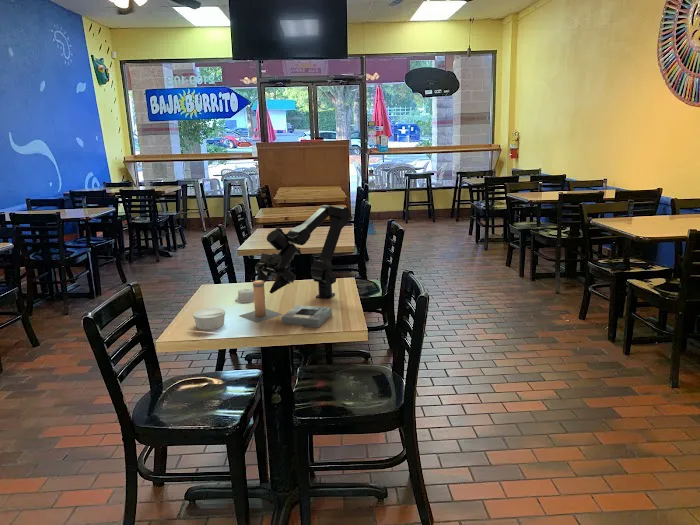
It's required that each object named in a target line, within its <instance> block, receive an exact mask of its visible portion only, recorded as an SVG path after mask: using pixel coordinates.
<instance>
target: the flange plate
mask: <svg viewBox="0 0 700 525" xmlns="http://www.w3.org/2000/svg"><path fill="white" fill-rule="evenodd" d="M331 315H333V309H332V307H328V306H327V307H326V306H315V305H300V304H296V305H295V306H294V307H293V308H291V309H290V310H289V311H288V312H286V313H284V314H283V315H281V324H283V325H294V326H295V325H296V326H301V327H302V326H304V328H305V327H306V328H315V327H316V328H320V327H321V326H323V324H324V323H325V322H327V321H328V319H329V317H330V316H331ZM330 318H331V317H330ZM316 328H315V329H316Z"/></svg>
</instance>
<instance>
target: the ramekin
mask: <svg viewBox="0 0 700 525" xmlns="http://www.w3.org/2000/svg"><path fill="white" fill-rule="evenodd" d="M225 315H226V310H225V309H223V308H220V307H209V308H203V309H199V310H197V311H195V312H194V313H193V315H192V317H193V319H194V323H195V326H196V328H197V329H199V330H205V331H206V330H214V329H218V328H220V327H222V326H224V324H225Z"/></svg>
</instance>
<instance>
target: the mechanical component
mask: <svg viewBox="0 0 700 525" xmlns="http://www.w3.org/2000/svg"><path fill="white" fill-rule="evenodd" d="M237 291H238V292H237V296H236V297H235V302H236V303H237V302H238V303H243V304H245V303H246V304H247V303H254V290H253V288H242V289H240V290H237Z"/></svg>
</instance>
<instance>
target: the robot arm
mask: <svg viewBox="0 0 700 525" xmlns="http://www.w3.org/2000/svg"><path fill="white" fill-rule="evenodd" d="M351 215H352V213H351V210H350V209H349V207H347V206H337V205H336V206H332V205H329V204H323V205H320V206H319V208H318V209H317V210H316V211H314V213H313V214H312V215H310V217H308V219H307V220H305V221H304V222H303V223H301V224H300V225H297V226H295V227H293V228H291V229H290V230H289V231H288V232H286V233H285V232H284V231H283V229H281V227H276V228H275V229H273V230H272V231H270V232H269V233H267V236H266V241H267V242H268V243H269V244H270V245H271V246H272V247H273V248H274V249H275V250H276V251H278V253H277V254H276V253H272V254H268V253H261V256H260V260H259V262H257V263H256V264H255V266H254V268H255V271H257V276H256V281H258V280H262V281H264V284H265V283H266V282H267V281H268V280H269V279H270V276H272V275H275V281H274V282H273V284H272V286H271V288H270V289H269V293H270V294H273V293H275V292H276V291H278V290H280V289H282V288H283V287H285V286H287V285H290V284H291V283H292V284H293V283H294V281H295V280H296V275H295V274H294V273H293V272H292V271H291V270H290V269H289V268H288V267H291V266H292V263H291V261H293V259H294V257H295V255H300V256H301V255H302V252H301V247H298V246H304V245H306V243H307V242H308V241H309V239H310V238H311V235H312V233H313V232H314V231H315V230H316V229H317V228H318V227H319V226H320V225H321V224H322V223H323V222H325V220H327V218H329V224H330V226H329V228H328V232H327V235H326V238H325V241H324V244H323V247H322V250H321V253H320V256H319V257H318V258H317V259H313V261H312V265H311V266H310V274H311V277H312V279H313V282H315V283H316V282H317V285H318V286H317V290H318V294H316V295H315V298H316V299H317V298H318V299H331V298H333V296H335V295H336V293H335V292H333V284H335V283H336V282H337V276H336V275H335V274H334V273H333V263H332V260H333V256H334V253H335V250H336V248H337V245H338V241H339V239H340V235H341V233H342V229H343V228H344V227H346V225H347V224H348V222H349V221H350V218H351ZM297 245H298V246H297Z"/></svg>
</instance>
